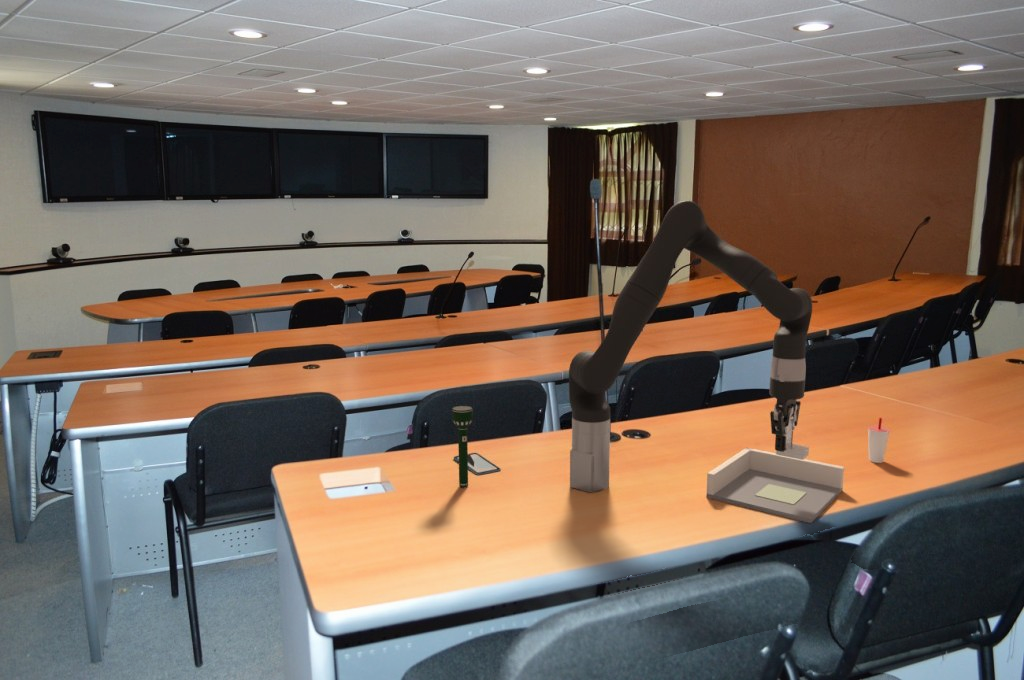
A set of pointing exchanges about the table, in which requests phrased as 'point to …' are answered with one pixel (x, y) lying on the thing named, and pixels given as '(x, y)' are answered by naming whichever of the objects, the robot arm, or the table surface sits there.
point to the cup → (877, 442)
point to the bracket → (793, 447)
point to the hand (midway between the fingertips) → (783, 447)
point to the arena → (776, 484)
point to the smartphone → (479, 464)
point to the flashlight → (462, 439)
